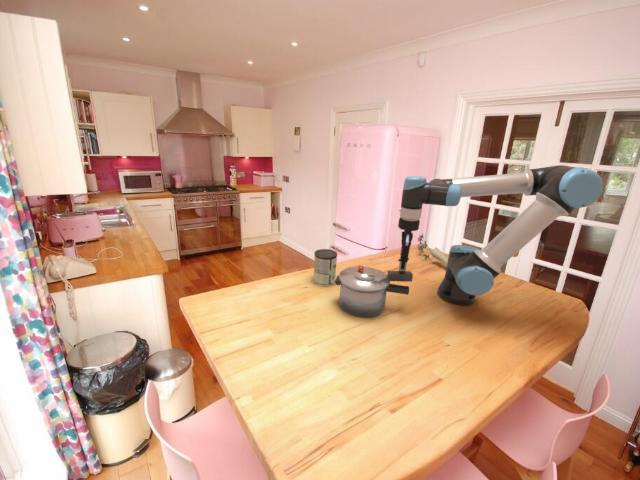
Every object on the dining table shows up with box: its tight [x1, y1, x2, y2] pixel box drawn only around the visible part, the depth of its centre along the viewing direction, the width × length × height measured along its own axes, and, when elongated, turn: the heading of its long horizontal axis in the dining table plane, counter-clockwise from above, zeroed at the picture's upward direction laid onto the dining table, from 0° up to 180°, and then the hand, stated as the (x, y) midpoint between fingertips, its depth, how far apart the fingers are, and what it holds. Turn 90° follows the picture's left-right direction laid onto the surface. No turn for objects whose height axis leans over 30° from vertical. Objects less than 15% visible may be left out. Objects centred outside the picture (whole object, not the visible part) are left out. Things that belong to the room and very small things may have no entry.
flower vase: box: [417, 233, 449, 267], centre depth 164 cm, size 12×12×35 cm
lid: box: [338, 265, 414, 292], centre depth 116 cm, size 28×20×5 cm
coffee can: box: [313, 248, 338, 287], centre depth 136 cm, size 10×10×14 cm
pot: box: [334, 275, 410, 319], centre depth 118 cm, size 28×18×11 cm, turn 77°
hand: (401, 275), depth 119 cm, fingers closed
